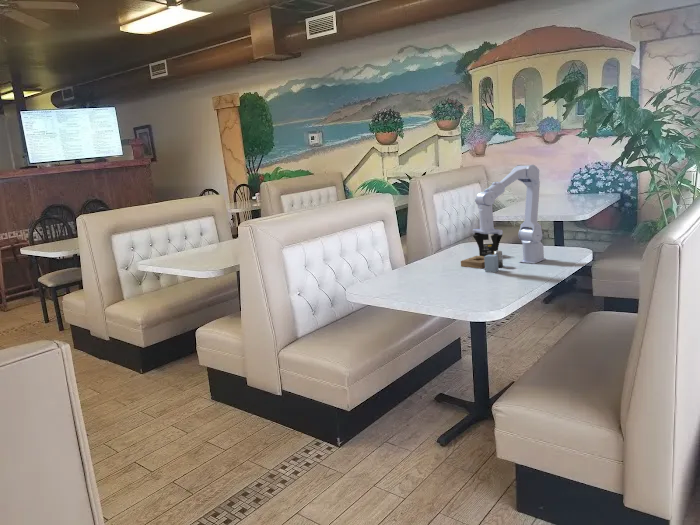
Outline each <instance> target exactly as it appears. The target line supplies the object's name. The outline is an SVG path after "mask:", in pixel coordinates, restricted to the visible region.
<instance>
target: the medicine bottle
mask: <svg viewBox="0 0 700 525" xmlns="http://www.w3.org/2000/svg"><path fill="white" fill-rule="evenodd" d="M492 235H493V234H484V239H483V245H484V248H483V250H479V249H478V252H479V253H478V254H479V255H478V256H486V255H494V252H495V251H494V249H493V242H492V239H491V236H492Z"/></svg>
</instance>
